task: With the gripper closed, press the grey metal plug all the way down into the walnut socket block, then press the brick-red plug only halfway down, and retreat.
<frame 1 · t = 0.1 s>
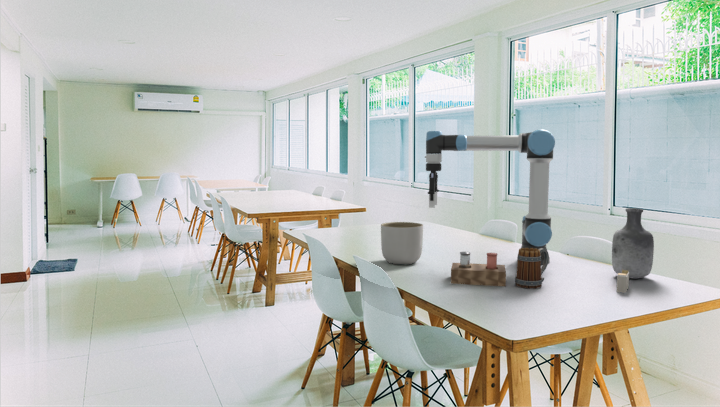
hand: (433, 206, 259), 28 cm above the table, fingers open, 13 cm apart
socket block: (478, 281, 223), on the table
mug: (532, 285, 217), on the table
planter: (401, 263, 262), on the table
plug red: (491, 264, 221), point 8 cm above the table, slide at 0.0 cm
model: (622, 291, 209), on the table
vase: (631, 278, 230), on the table
plug grey: (465, 263, 224), point 8 cm above the table, slide at 0.0 cm
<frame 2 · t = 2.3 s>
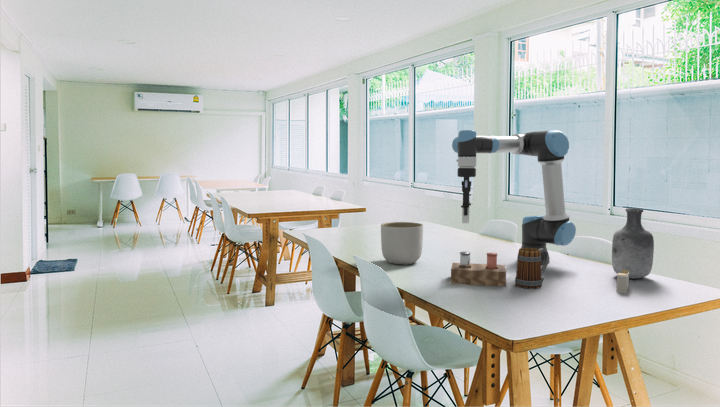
hand: (465, 221, 222), 25 cm above the table, fingers open, 7 cm apart
nothing on the table moved.
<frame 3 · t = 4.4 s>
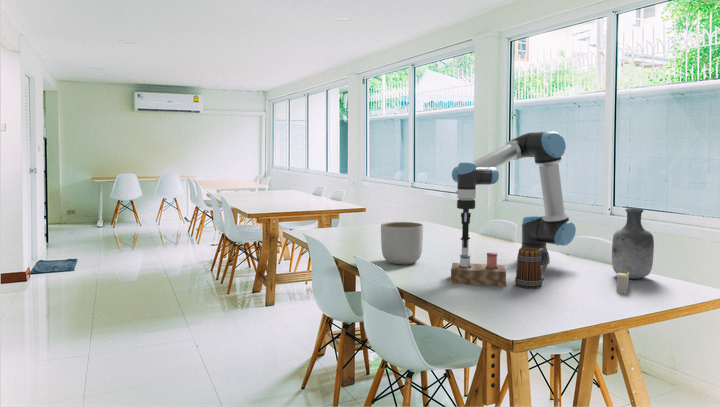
hand: (465, 254, 223), 11 cm above the table, fingers closed
plug grey: (465, 265, 224), point 6 cm above the table, slide at 1.2 cm, touching gripper
everything else where it was.
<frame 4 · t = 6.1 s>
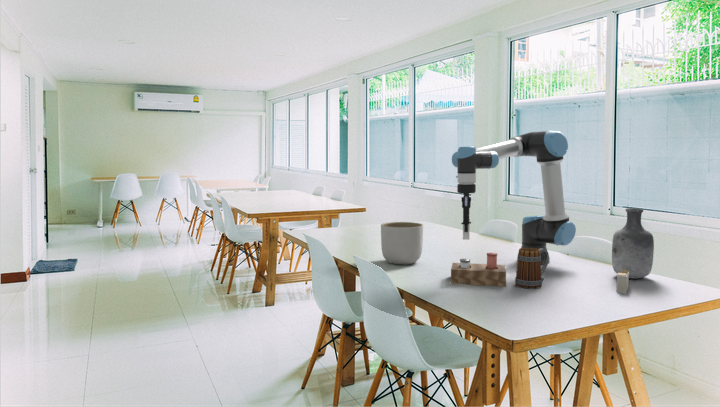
hand: (466, 239, 223), 18 cm above the table, fingers closed
plug grey: (464, 270, 224), point 4 cm above the table, slide at 3.0 cm
everything else where it was.
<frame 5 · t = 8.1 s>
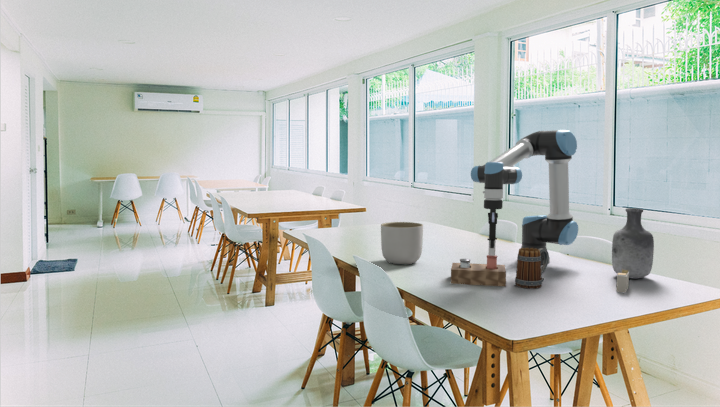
hand: (491, 255, 221), 11 cm above the table, fingers closed
plug red: (491, 266, 222), point 7 cm above the table, slide at 1.0 cm, touching gripper
everything else where it was.
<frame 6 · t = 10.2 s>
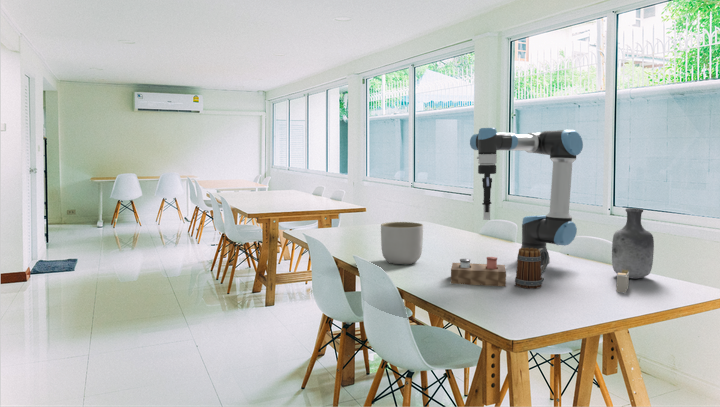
hand: (486, 219, 226), 26 cm above the table, fingers closed
plug red: (491, 268, 222), point 6 cm above the table, slide at 1.8 cm
everything else where it was.
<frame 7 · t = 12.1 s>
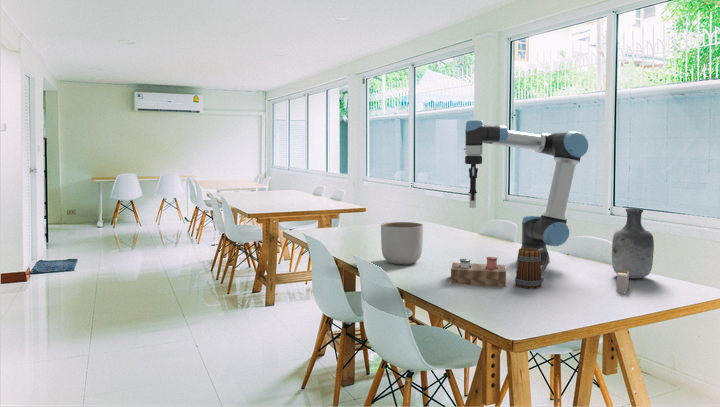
hand: (472, 207, 239), 29 cm above the table, fingers closed
nothing on the table moved.
at the end: plug grey slide at 3.0 cm; plug red slide at 1.8 cm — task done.
